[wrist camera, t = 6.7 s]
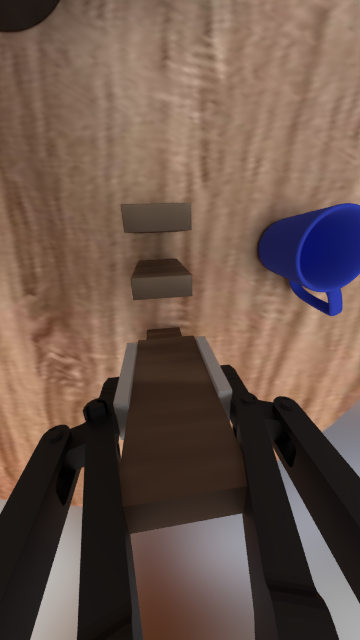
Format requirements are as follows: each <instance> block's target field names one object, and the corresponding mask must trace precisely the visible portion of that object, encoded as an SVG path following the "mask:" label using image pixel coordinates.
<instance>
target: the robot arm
mask: <svg viewBox="0 0 360 640" xmlns="http://www.w3.org/2000/svg"><path fill="white" fill-rule="evenodd" d="M57 2H58V0H0V30H3V31H12V30H20V29H24V28H27V27H30V26H32V25H34V24H36V23H37V22H39V21H40V20H42V19H43V18H44V17H45V16H46V15H47V14H48V13H49V12H50V11H51V10H52V9H53V8H54V6H55V5H56V3H57ZM196 343H197V346H198V348H199V351H200V353H201V355H202V358H203V360H204V363H205V365H206V368H207V370H208V373H209V375H210V378H211V380H212V382H213V385H214V387H215V390H216V392H217V395H218V397H219V398H220V401H221V403H222V405H223V408H224V410H225V413H226V415H227V418H228V420H229V422H230V420H231V422H232V424H233V428H232V430H233V432H234V435H235V437H236V440H237V442H238V444H239V447H240V449H241V452H242V454H243V460H244V466H245V473H246V479H247V492H246V499H245V505H244V512H243V513H242V515H243V524H244V532H245V541H246V549H247V556H248V565H249V574H250V581H251V590H252V599H253V607H254V620H255V640H339V638H338V635H337V632H336V629H335V625H334V623H333V620H332V617H331V615H330V612H329V609H328V607H327V605H326V603H325V601H324V600H323V598H322V597H321V596H320V595H319V593H318V592H317V590H316V588H315V586H314V583H313V580H312V576H311V573H310V570H309V566H308V563H307V560H306V557H305V553H304V550H303V547H302V543H301V540H300V536H299V533H298V530H297V526H296V523H295V520H294V517H293V513H292V510H291V507H290V503H289V500H288V497H287V493H286V490H285V487H284V483H283V480H282V477H281V473H280V470H279V467H278V463H277V460H276V457H275V453H274V450H275V452H276V453H277V455H278V457H279V459H280V461H281V462H282V464H283V466H284V468H285V470H286V471H287V473H288V475H289V477H290V478H291V480H292V482H293V484H294V486H295V488H296V489H297V491H298V493H299V495H300V497H301V498H302V500H303V502H304V504H305V506H306V508H307V509H308V511H309V513H310V515H311V516H312V518H313V520H314V522H315V524H316V526H317V527H318V529H319V530H320V533H321V535H322V536H323V538H324V540H325V542H326V543H327V545H328V547H329V549H330V551H331V553H332V554H333V556H334V558H335V559H336V562H337V563H338V565H339V567H340V569H341V571H342V572H343V574H344V576H345V578H346V580H347V581H348V583H349V585H350V587H351V589H352V590H353V592H354V594H355V596H356V597H357V599H358V601H359V603H360V477H359V476H358V475H357V474H356V473H355V471H354V470H353V469H352V468H351V467H350V465H349V464H348V463H347V462H346V461H345V460H344V458H343V457H342V456H341V455H340V454H339V452H338V451H337V450H336V449H335V448H334V447H333V446H332V444H331V443H330V442H329V441H328V439H327V438H326V437H325V436H324V435H323V433H322V432H321V431H320V430H319V429H318V427H317V426H316V425H315V424H314V423H313V422H312V420H311V419H310V418H309V417H308V416H307V414H306V413H305V412H304V411H303V410H302V408H301V407H300V406H299V405H298V404H297V403H296V402H295V401H294V400H292V399H290V398H288V397H283V396H279V397H276V398H275V399H274V401H273V402H267V401H261V400H258V399H257V397H256V396H255V395H253V394H251V393H249V392H248V390H247V389H246V387H245V385H244V384H243V382H242V381H241V379H240V377H239V376H238V374H237V372H236V371H235V369H234V368H233V367H231V366H230V365H221V366H220V365H219V363H218V361H217V359H216V357H215V355H214V353H213V352H212V350H211V348H210V346H209V344H208V342H207V340H206V338H205V336H203V337H196ZM136 354H137V343H127V348H126V352H125V356H124V360H123V364H122V369H121V373H120V377H114V378H108V379H107V380H106V381H105V383H104V384H103V387H102V390H101V393H100V396H99V398H97V399H94V400H92V401H90V402H89V403H87V404H86V406H85V407H84V409H83V414H84V417H85V420H86V422H85V423H83V424H81V425H79V426H76V427H74V428H71V429H69V427H68V426H67V425H58V426H55V427H53V428H51V429H49V430H48V431H47V432H46V433H45V434H44V435H43V436H42V438H41V439H40V441H39V443H38V445H37V447H36V449H35V450H34V452H33V454H32V456H31V458H30V460H29V462H28V463H27V465H26V467H25V469H24V471H23V473H22V475H21V476H20V478H19V480H18V482H17V484H16V486H15V488H14V489H13V491H12V493H11V495H10V497H9V499H8V501H7V502H6V505H5V506H4V508H3V510H2V512H1V514H0V640H30V638H31V635H32V631H33V628H34V625H35V621H36V618H37V615H38V611H39V608H40V605H41V601H42V598H43V594H44V591H45V588H46V584H47V581H48V578H49V574H50V571H51V567H52V564H53V561H54V557H55V554H56V551H57V547H58V544H59V541H60V537H61V534H62V530H63V527H64V524H65V520H66V517H67V514H68V510H69V507H70V504H71V500H72V497H73V494H74V490H75V487H76V483H77V480H78V477H79V473H80V470H81V468H82V467H84V489H83V513H82V538H81V560H80V584H79V586H80V587H79V608H78V631H77V640H143V635H142V628H141V619H140V610H139V602H138V594H137V586H136V578H135V570H134V561H133V553H132V545H131V538H130V534H129V530H128V526H127V522H126V519H125V515H124V511H123V507H122V498H121V488H120V479H119V471H120V464H121V455H120V447H119V442H118V441H119V435H120V438H121V440H124V436H125V429H126V422H127V415H128V409H129V405H130V398H131V390H132V383H133V376H134V369H135V362H136ZM272 446H273V447H272ZM273 448H274V450H273Z"/></svg>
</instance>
